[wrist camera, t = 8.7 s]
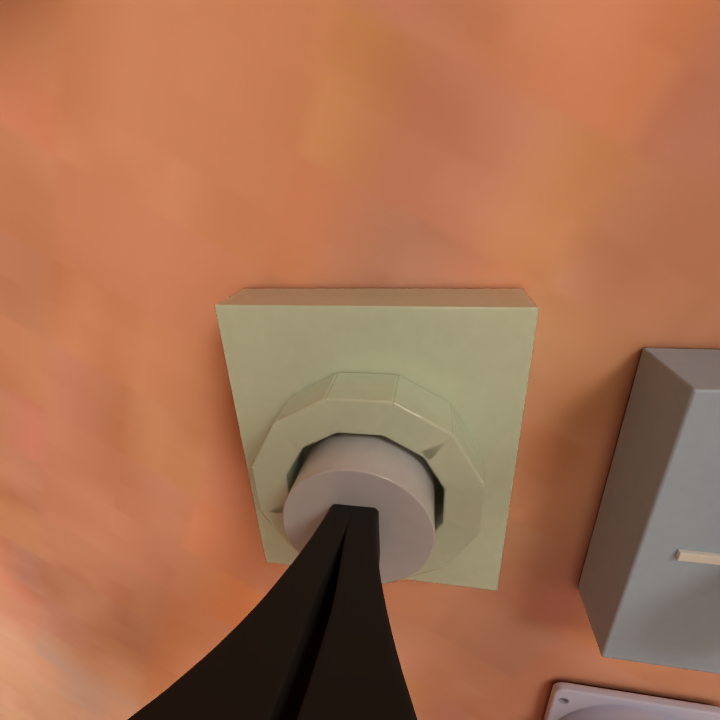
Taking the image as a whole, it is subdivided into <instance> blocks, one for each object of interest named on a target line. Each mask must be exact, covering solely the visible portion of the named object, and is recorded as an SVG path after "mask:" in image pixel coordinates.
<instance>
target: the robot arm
mask: <svg viewBox="0 0 720 720" xmlns="http://www.w3.org/2000/svg"><path fill="white" fill-rule="evenodd" d="M379 563H380V537H379V511H378V510H377V509H376V508H373V507H363V506H352V505H342V504H333V505H332V506H331V507H330V509H329V510H328V512H327V514H326V515H325V517H324V518H323V520H322V522H321V523H320V525H319V526H318V528H317V529H316V531H315V532H314V534H313V535H312V537H311V538H310V540H309V541H308V542H307V544H306V545H305V547H304V548H303V549H302V551H301V552H300V553H299V555H298V556H297V557H296V559H295V560H294V561H293V563H292V564H291V565H290V567H289V568H288V569H287V570H286V572H285V573H284V574H283V575H282V576H281V578H280V579H279V580H278V581H277V583H276V584H275V585H274V586H273V587H272V589H271V590H270V591H269V592H268V593H267V595H266V596H265V597H264V598H263V599H262V600H261V601H260V602H259V604H258V605H257V606H256V607H255V608H254V609H253V610H252V611H251V612H250V613H249V614H248V615H247V616H246V617H245V618H244V620H243V621H242V622H241V623H240V624H239V625H238V626H237V627H236V628H235V629H234V630H233V631H232V632H231V633H229V634H228V635H227V636H226V637H225V638H224V639H223V640H222V641H221V642H220V643H219V644H218V645H217V646H216V647H215V648H214V649H213V650H212V651H211V652H210V653H208V654H207V655H206V656H205V657H204V658H203V659H202V660H201V661H199V662H198V663H197V664H196V665H195V666H194V667H192V668H191V669H190V670H189V671H188V672H187V673H185V674H184V675H183V676H182V677H181V678H180V679H178V680H177V681H176V682H175V683H174V684H173V685H171V686H170V687H169V688H168V689H167V690H165V691H164V692H163V693H162V694H160V695H159V696H158V697H157V698H155V699H154V700H153V701H151V702H150V703H149V704H147V705H146V706H145V707H143V708H142V709H141V710H139V711H138V712H137V713H135V714H134V715H133V716H132V717H130V718H129V719H128V720H417V717H416V714H415V711H414V708H413V704H412V701H411V698H410V695H409V692H408V689H407V685H406V682H405V679H404V676H403V673H402V669H401V665H400V662H399V658H398V655H397V651H396V647H395V643H394V639H393V635H392V632H391V627H390V623H389V619H388V614H387V610H386V605H385V599H384V594H383V589H382V583H381V576H380V569H379ZM544 720H720V707H717V706H712V705H706V704H699V703H693V702H687V701H680V700H674V699H668V698H661V697H655V696H649V695H642V694H636V693H630V692H623V691H617V690H611V689H604V688H598V687H592V686H585V685H579V684H573V683H566V682H557V683H555V684H554V685H553V687H552V691H551V695H550V698H549V702H548V706H547V709H546V713H545V717H544Z"/></svg>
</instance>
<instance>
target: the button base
mask: <svg viewBox="0 0 720 720" xmlns="http://www.w3.org/2000/svg"><path fill="white" fill-rule="evenodd" d="M215 310H216V315H217V320H218V325H219V330H220V335H221V340H222V345H223V350H224V355H225V360H226V365H227V370H228V375H229V380H230V385H231V390H232V395H233V400H234V405H235V410H236V415H237V420H238V425H239V430H240V435H241V440H242V445H243V450H244V455H245V460H246V465H247V470H248V475H249V480H250V485H251V490H252V495H253V500H254V505H255V510H256V515H257V520H258V525H259V530H260V535H261V540H262V545H263V550H264V554H265V559H266V562H270V563H278V564H286V565H291V564H292V563H293V561H294V560H295V559H296V557H297V556H298V555H299V553H298V552H297V551H296V549H295V548H294V547H293V545H292V544H291V542H290V540H289V539H288V537H287V534H286V532H285V528H284V524H283V508H284V504H285V501H286V499H287V496H288V494H289V492H290V490H291V488H292V486H293V483H294V481H295V479H296V477H297V475H298V473H299V470H300V468H301V466H302V464H303V462H304V459H305V457H306V455H307V453H308V452H309V451H310V449H311V448H312V447H313V446H314V445H315V444H316V443H317V442H318V441H320V440H322V439H324V438H326V437H328V436H331V435H333V434H335V433H352V434H368V435H383V436H385V437H387V438H389V439H391V440H393V441H394V442H396V443H398V444H400V445H402V446H404V447H405V448H407V449H409V450H411V451H413V452H415V453H417V454H418V455H420V456H422V457H423V458H424V460H425V461H426V462H427V464H428V466H429V468H430V469H431V472H432V474H433V477H434V482H435V544H434V548H433V551H432V554H431V555H430V557H429V559H428V561H427V562H426V563H425V564H424V565H423V567H421V568H420V569H419V570H418V571H417V572H415V573H414V574H412V575H411V576H408V577H406V578H404V579H406V580H414V581H422V582H430V583H438V584H446V585H454V586H462V587H470V588H478V589H486V590H494V591H497V588H498V581H499V574H500V568H501V561H502V554H503V547H504V541H505V534H506V527H507V520H508V514H509V507H510V500H511V493H512V487H513V480H514V473H515V466H516V460H517V453H518V446H519V439H520V433H521V426H522V419H523V412H524V406H525V399H526V392H527V385H528V379H529V372H530V365H531V358H532V352H533V345H534V338H535V331H536V325H537V318H538V311H539V308H538V306H537V305H536V304H535V303H534V301H533V300H532V299H531V298H530V296H529V295H528V294H527V292H526V291H525V290H524V289H523V288H243V289H241V290H240V291H238V292H236V293H235V294H233V295H231V296H229V297H228V298H226V299H224V300H223V301H221V302H219V303H218V304H216V305H215Z"/></svg>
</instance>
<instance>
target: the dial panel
mask: <svg viewBox="0 0 720 720" xmlns="http://www.w3.org/2000/svg"><path fill="white" fill-rule="evenodd" d="M578 589H579V592H580V595H581V598H582V601H583V604H584V606H585V609H586V612H587V615H588V618H589V621H590V624H591V627H592V629H593V632H594V635H595V638H596V641H597V644H598V647H599V650H600V652H601V655H602V656H603V657H607V658H614V659H621V660H628V661H635V662H642V663H648V664H655V665H662V666H669V667H676V668H683V669H690V670H697V671H703V672H710V673H717V674H720V349H677V348H643V350H642V354H641V357H640V361H639V365H638V368H637V372H636V376H635V379H634V383H633V387H632V391H631V394H630V398H629V402H628V405H627V409H626V413H625V416H624V420H623V424H622V427H621V431H620V435H619V438H618V442H617V446H616V449H615V453H614V457H613V460H612V464H611V468H610V471H609V475H608V479H607V482H606V486H605V490H604V493H603V497H602V501H601V504H600V508H599V512H598V515H597V519H596V523H595V527H594V530H593V534H592V538H591V541H590V545H589V549H588V552H587V556H586V560H585V563H584V567H583V571H582V574H581V578H580V582H579V585H578Z"/></svg>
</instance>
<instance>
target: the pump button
mask: <svg viewBox="0 0 720 720" xmlns="http://www.w3.org/2000/svg"><path fill="white" fill-rule="evenodd" d="M333 504H342V505H352V506H363V507H373V508H376V509H377V510H378V511H379V537H380V563H379V569H380V576H381V583H382V584H385V583H391V582H395V581H398V580H402V579H404V578H406V577H408V576H411V575H412V574H414V573H415V572H417V571H418V570H419V569H420V568H421V567H423V565H424V564H425V563H426V562H427V561H428V559H429V557H430V555H431V554H432V551H433V548H434V544H435V482H434V477H433V474H432V472H431V469H430V468H429V466H428V464H427V462H426V461H425V460H424V458H423V457H422V456H420V455H418V454H417V453H415V452H413V451H411V450H409V449H407V448H405V447H404V446H402V445H400V444H398V443H396V442H394V441H393V440H391V439H389V438H387V437H385V436H383V435H368V434H352V433H335V434H333V435H331V436H328V437H326V438H324V439H322V440H320V441H318V442H317V443H316V444H315V445H314V446H313V447H312V448H311V449H310V451H309V452H308V453H307V455H306V457H305V459H304V462H303V464H302V466H301V468H300V470H299V473H298V475H297V477H296V479H295V481H294V483H293V486H292V488H291V490H290V492H289V494H288V496H287V499H286V501H285V504H284V508H283V524H284V528H285V532H286V534H287V537H288V539H289V540H290V542H291V544H292V545H293V547H294V548H295V549H296V551H297V552H298V553H300V552H301V551H302V549H303V548H304V547H305V545H306V544H307V542H308V541H309V540H310V538H311V537H312V535H313V534H314V532H315V531H316V529H317V528H318V526H319V525H320V523H321V522H322V520H323V518H324V517H325V515H326V514H327V512H328V510H329V509H330V507H331V506H332V505H333Z"/></svg>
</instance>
